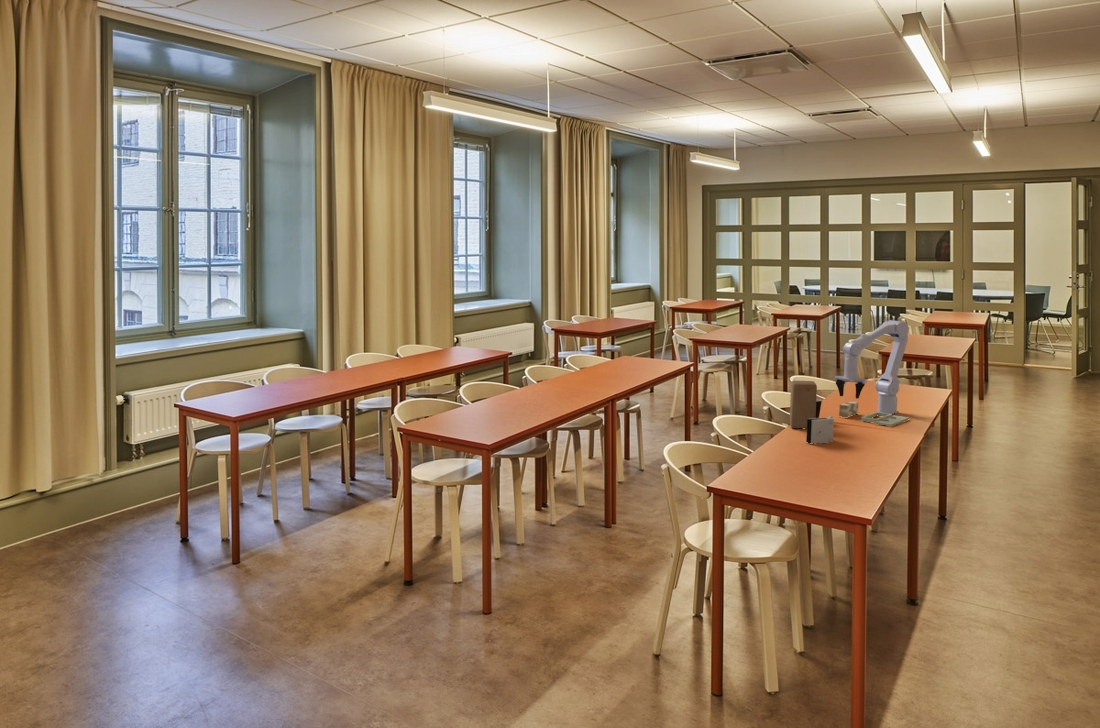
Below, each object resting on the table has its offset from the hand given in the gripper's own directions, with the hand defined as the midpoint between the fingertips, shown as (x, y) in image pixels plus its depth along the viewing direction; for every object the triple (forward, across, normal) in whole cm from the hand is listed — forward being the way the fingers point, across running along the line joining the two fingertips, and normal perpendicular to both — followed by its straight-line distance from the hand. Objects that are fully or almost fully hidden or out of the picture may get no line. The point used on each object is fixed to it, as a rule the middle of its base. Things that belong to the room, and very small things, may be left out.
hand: (849, 397), depth 382 cm
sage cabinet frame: (+9, +17, 0) cm, 19 cm away
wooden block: (+9, -4, -37) cm, 38 cm away
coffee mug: (+9, -8, -22) cm, 25 cm away
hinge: (+9, +15, -57) cm, 60 cm away
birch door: (+9, 0, 0) cm, 9 cm away
